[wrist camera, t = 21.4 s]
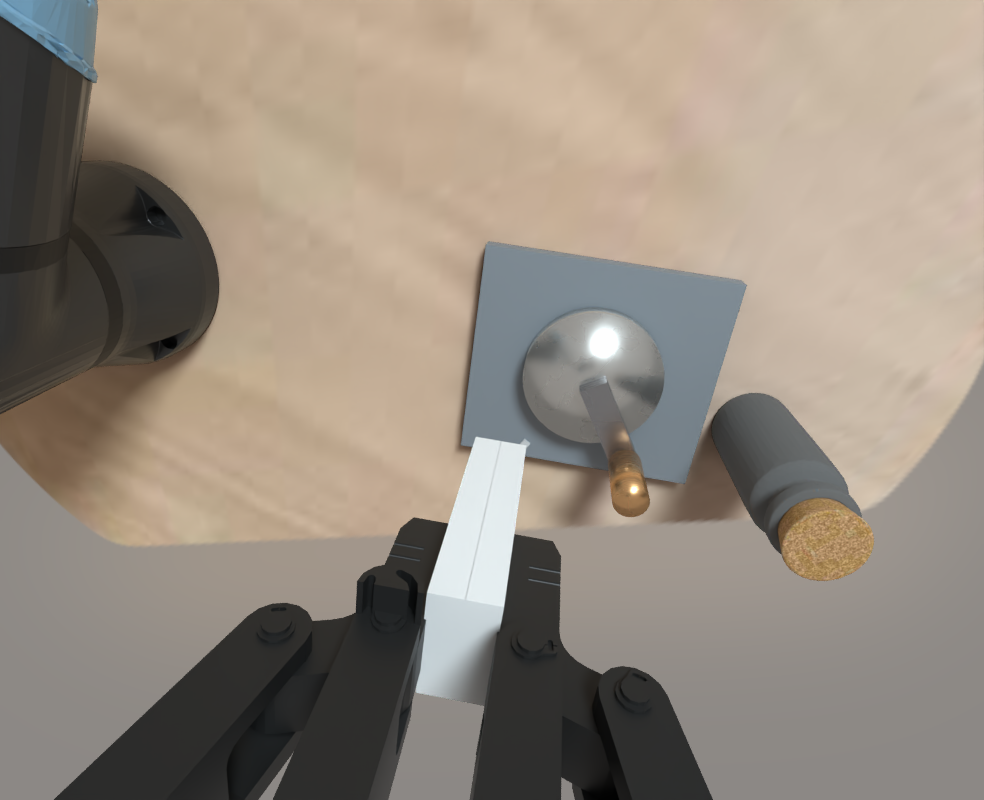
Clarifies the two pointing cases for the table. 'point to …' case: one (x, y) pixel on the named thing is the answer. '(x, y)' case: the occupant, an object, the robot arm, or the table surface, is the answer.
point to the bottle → (791, 488)
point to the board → (606, 284)
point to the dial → (598, 390)
